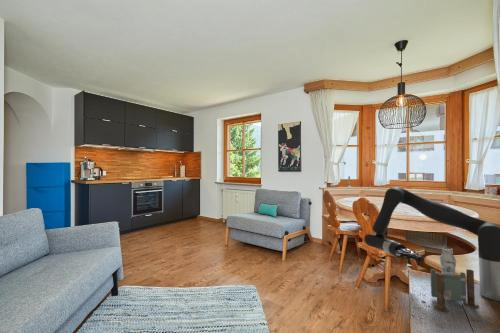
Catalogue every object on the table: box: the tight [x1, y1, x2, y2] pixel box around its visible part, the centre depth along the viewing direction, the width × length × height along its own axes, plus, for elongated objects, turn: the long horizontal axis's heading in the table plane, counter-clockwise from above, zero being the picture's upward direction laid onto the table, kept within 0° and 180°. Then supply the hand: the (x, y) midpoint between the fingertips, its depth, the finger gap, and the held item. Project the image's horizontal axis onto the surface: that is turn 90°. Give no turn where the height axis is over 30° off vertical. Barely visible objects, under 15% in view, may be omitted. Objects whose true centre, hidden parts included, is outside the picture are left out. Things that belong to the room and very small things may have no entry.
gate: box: [430, 268, 467, 302], centre depth 111 cm, size 12×2×12 cm, turn 66°
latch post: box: [433, 272, 451, 314], centre depth 105 cm, size 4×4×15 cm
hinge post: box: [462, 269, 480, 309], centre depth 108 cm, size 4×4×15 cm
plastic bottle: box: [439, 246, 457, 275], centre depth 123 cm, size 6×7×20 cm
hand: (421, 259), depth 120 cm, fingers closed
